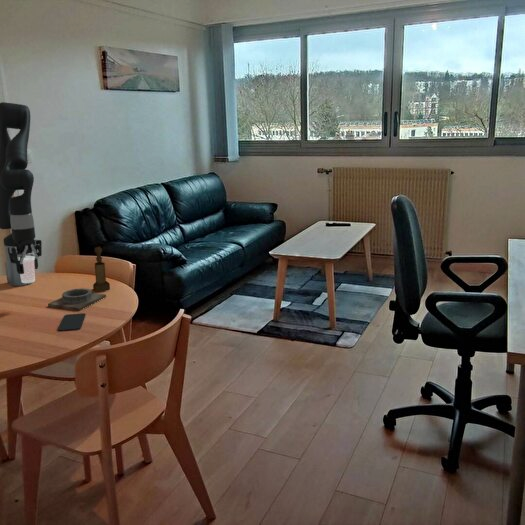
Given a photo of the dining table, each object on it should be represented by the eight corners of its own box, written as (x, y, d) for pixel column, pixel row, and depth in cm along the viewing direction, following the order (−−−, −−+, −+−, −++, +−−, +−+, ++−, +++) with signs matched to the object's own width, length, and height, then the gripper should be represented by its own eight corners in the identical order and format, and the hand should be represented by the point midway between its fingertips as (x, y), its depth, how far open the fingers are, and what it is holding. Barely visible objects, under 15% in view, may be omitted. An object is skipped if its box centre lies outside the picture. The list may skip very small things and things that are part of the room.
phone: (86, 313, 187) (80, 328, 173) (86, 315, 187) (80, 330, 173) (64, 314, 186) (56, 330, 172) (64, 316, 186) (56, 332, 172)
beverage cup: (16, 281, 192) (11, 244, 188) (33, 277, 197) (28, 241, 193) (23, 285, 188) (18, 247, 184) (40, 281, 192) (36, 244, 189)
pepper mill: (107, 292, 211) (103, 248, 207) (91, 292, 212) (87, 248, 207) (112, 287, 218) (108, 244, 213) (96, 287, 218) (92, 244, 213)
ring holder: (48, 306, 195) (47, 297, 194) (76, 293, 209) (75, 284, 208) (79, 311, 190) (78, 301, 189) (106, 297, 205) (105, 288, 204)
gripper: (29, 221, 194) (34, 265, 199) (-2, 229, 181) (4, 275, 186) (45, 223, 192) (50, 267, 196) (15, 231, 179) (21, 277, 183)
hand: (28, 271), depth 191 cm, fingers closed on beverage cup, 6 cm apart
